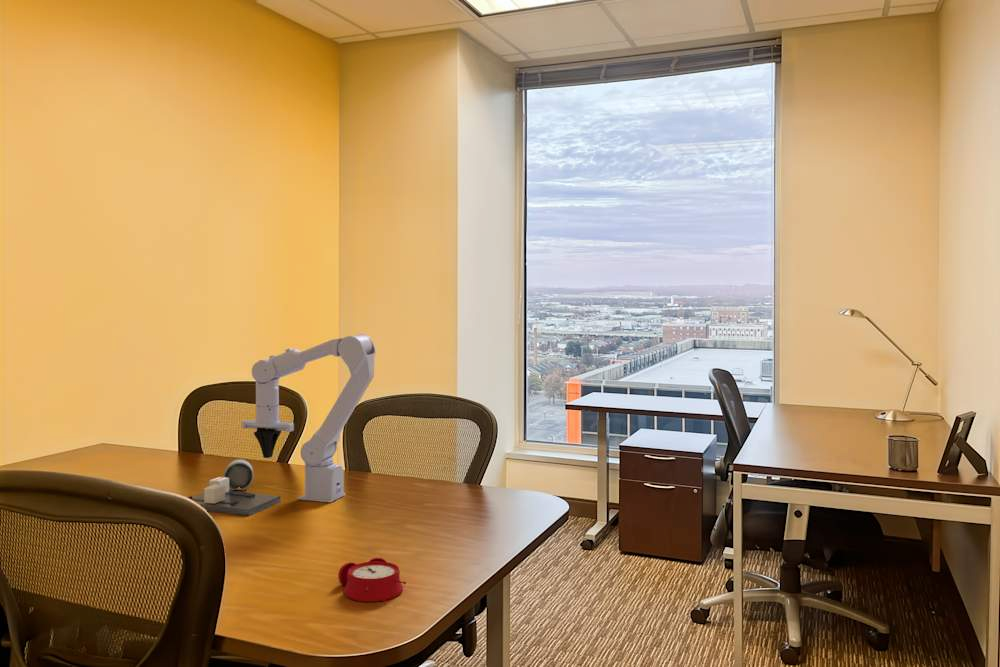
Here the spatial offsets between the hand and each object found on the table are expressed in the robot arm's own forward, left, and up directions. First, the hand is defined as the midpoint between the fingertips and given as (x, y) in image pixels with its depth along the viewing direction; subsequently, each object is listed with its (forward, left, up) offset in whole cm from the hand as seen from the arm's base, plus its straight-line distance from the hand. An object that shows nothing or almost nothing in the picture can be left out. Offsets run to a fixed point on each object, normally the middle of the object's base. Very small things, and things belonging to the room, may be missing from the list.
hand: (267, 457), depth 205 cm
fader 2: (+5, +15, -8) cm, 18 cm away
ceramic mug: (+13, -3, -10) cm, 17 cm away
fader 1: (+9, +8, -8) cm, 15 cm away
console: (+3, +11, -10) cm, 15 cm away
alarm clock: (-55, +49, -10) cm, 74 cm away
